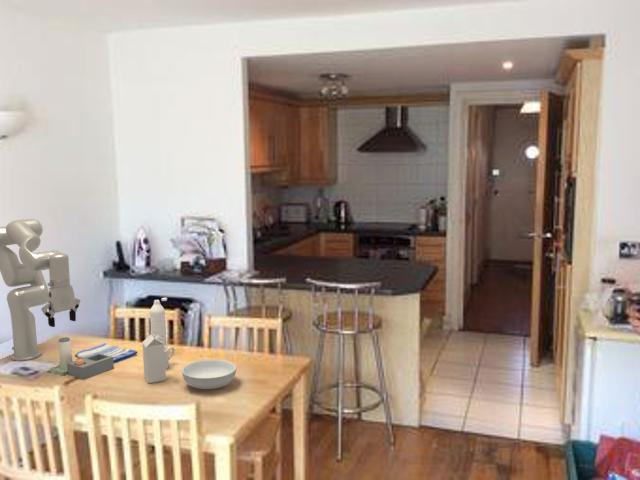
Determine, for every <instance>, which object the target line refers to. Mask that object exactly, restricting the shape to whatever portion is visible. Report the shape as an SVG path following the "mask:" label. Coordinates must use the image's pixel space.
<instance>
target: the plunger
mask: <svg viewBox="0 0 640 480" xmlns="http://www.w3.org/2000/svg"><path fill="white" fill-rule="evenodd" d="M75 361H76V365H77V366H80V365H83V364H84V359H81V358H77V359H76V360H75Z"/></svg>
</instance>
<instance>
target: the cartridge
mask: <svg viewBox="0 0 640 480" xmlns="http://www.w3.org/2000/svg"><path fill="white" fill-rule="evenodd" d="M57 343H58V356H59V365H60V370H67V363H70V362H73V353H72V340H71V339H70V337H60V338H58V341H57Z"/></svg>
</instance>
